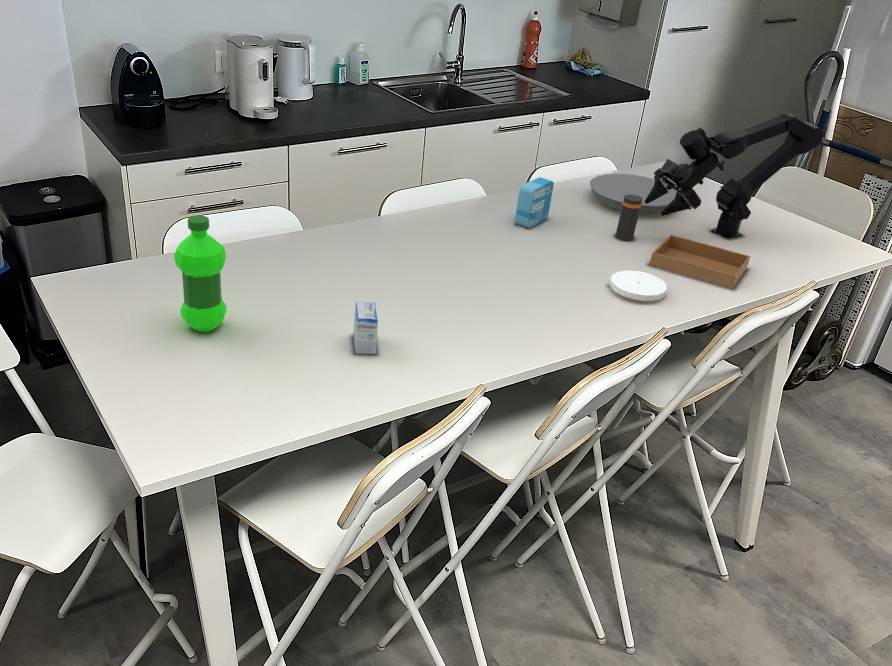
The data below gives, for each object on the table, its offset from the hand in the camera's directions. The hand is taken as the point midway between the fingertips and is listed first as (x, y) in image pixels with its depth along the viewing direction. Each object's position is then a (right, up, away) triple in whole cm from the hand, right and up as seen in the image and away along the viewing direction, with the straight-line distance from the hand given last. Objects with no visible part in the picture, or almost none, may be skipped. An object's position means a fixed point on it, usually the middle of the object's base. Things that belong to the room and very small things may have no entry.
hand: (653, 208), depth 242 cm
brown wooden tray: (+9, -18, -11) cm, 23 cm away
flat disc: (+2, +7, +27) cm, 28 cm away
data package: (-33, -2, +9) cm, 34 cm away
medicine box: (-81, -41, -57) cm, 107 cm away
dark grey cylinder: (-7, -8, +3) cm, 11 cm away
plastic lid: (-13, -26, -26) cm, 39 cm away
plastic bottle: (-116, -37, -54) cm, 133 cm away
